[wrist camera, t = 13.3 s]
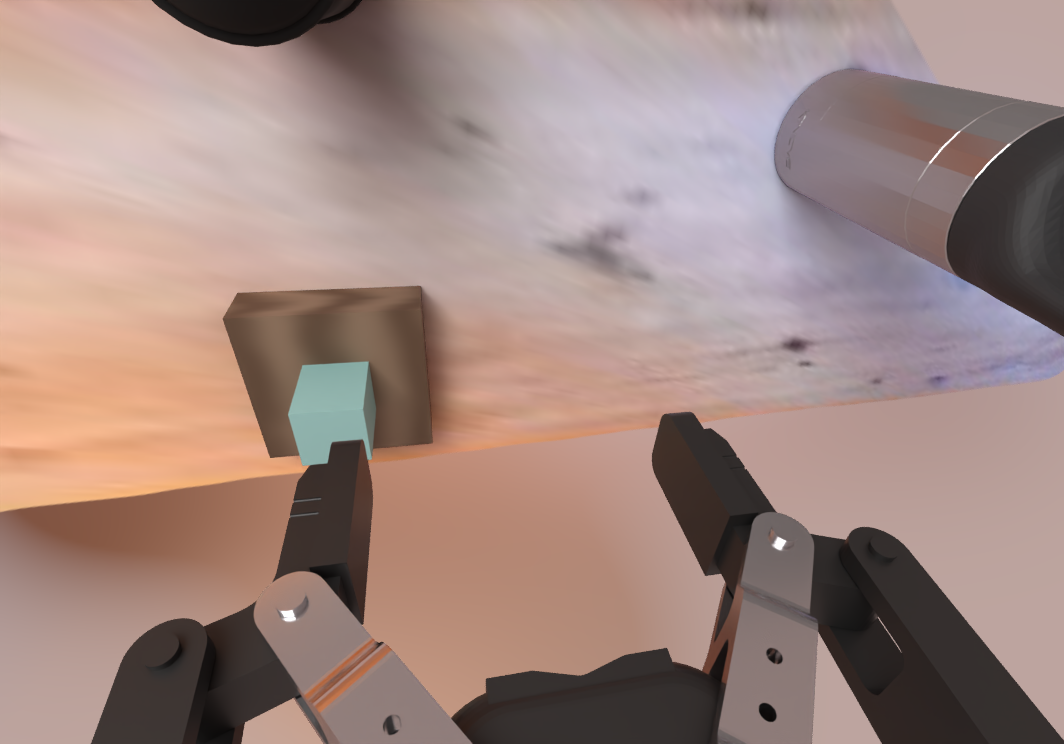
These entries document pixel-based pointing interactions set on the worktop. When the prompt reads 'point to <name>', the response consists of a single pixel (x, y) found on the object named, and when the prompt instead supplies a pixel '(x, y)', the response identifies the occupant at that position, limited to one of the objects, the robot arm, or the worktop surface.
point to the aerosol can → (256, 18)
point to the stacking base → (334, 355)
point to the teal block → (332, 409)
